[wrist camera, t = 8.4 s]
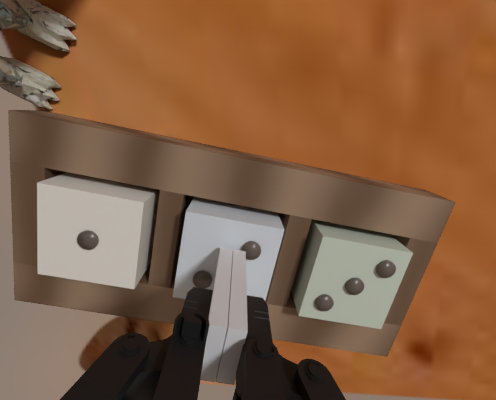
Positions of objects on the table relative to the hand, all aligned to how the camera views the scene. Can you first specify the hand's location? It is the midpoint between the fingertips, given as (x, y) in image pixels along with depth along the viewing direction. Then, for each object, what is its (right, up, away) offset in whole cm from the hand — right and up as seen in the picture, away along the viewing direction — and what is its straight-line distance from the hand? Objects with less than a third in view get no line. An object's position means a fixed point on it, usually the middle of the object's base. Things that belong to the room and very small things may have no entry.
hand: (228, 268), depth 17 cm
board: (0, +1, +5) cm, 5 cm away
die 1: (-9, +3, +4) cm, 10 cm away
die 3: (+8, 0, +5) cm, 10 cm away
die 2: (0, +1, +5) cm, 5 cm away
